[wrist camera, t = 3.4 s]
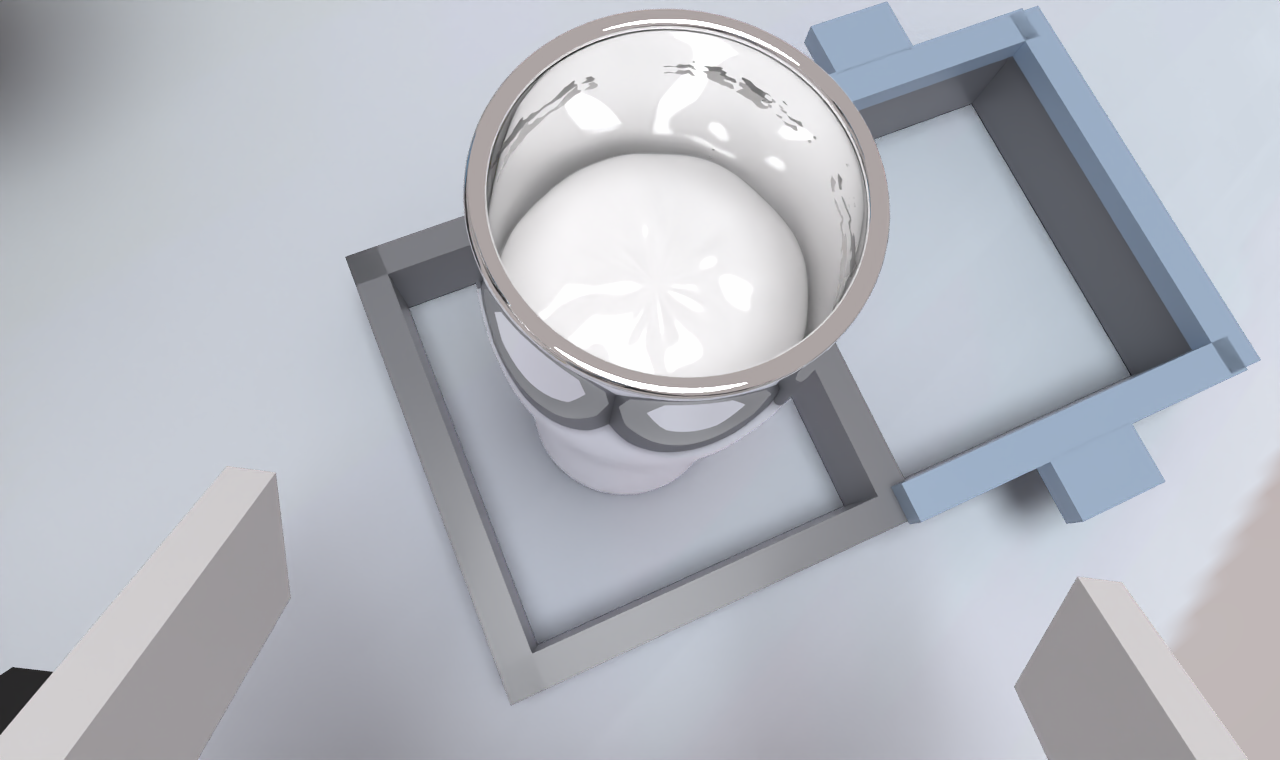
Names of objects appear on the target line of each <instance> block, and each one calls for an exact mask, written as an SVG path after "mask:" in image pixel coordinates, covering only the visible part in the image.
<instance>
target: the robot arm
mask: <svg viewBox="0 0 1280 760" xmlns="http://www.w3.org/2000/svg"><path fill="white" fill-rule="evenodd" d="M290 598H291V597H290V588H289V580H288V571H287V563H286V554H285V546H284V537H283V529H282V520H281V512H280V504H279V495H278V487H277V478H276V472H268V471H261V470H253V469H245V468H237V467H230V466H226V468H225V469H224V470H223V471H222V472H221V473H220V475H219V476H218V477H217V478H216V479H215V481H214V482H213V483H212V484H211V485H210V487H209V488H208V489H207V490H206V491H205V492H204V494H203V495H202V496H201V497H200V498H199V500H198V501H197V502H196V503H195V504H194V506H193V507H192V508H191V509H190V510H189V512H188V513H187V514H186V515H185V516H184V517H183V519H182V520H181V521H180V522H179V523H178V525H177V526H176V527H175V528H174V529H173V531H172V532H171V533H170V534H169V535H168V536H167V538H166V539H165V540H164V541H163V542H162V544H161V545H160V546H159V547H158V548H157V550H156V551H155V552H154V553H153V554H152V555H151V557H150V558H149V559H148V560H147V561H146V563H145V564H144V565H143V566H142V567H141V569H140V570H139V571H138V572H137V573H136V574H135V576H134V577H133V578H132V579H131V580H130V582H129V583H128V584H127V585H126V586H125V588H124V589H123V590H122V591H121V592H120V593H119V595H118V596H117V597H116V598H115V599H114V601H113V602H112V603H111V604H110V605H109V607H108V608H107V609H106V610H105V611H104V612H103V614H102V615H101V616H100V617H99V618H98V620H97V621H96V622H95V623H94V624H93V626H92V627H91V628H90V629H89V630H88V631H87V633H86V634H85V635H84V636H83V637H82V639H81V640H80V641H79V642H78V643H77V645H76V646H75V647H74V648H73V649H72V650H71V652H70V653H69V654H68V655H67V656H66V658H65V659H64V660H63V661H62V662H61V664H60V665H59V666H58V667H57V668H56V669H55V671H54V672H49V671H41V670H32V669H24V668H15V667H12V668H11V669H9V670H8V671H6V672H5V673H3V674H2V675H0V760H198V758H199V756H200V755H201V753H202V751H203V749H204V748H205V746H206V744H207V743H208V741H209V739H210V737H211V736H212V734H213V732H214V730H215V729H216V727H217V725H218V723H219V722H220V720H221V718H222V716H223V715H224V713H225V711H226V709H227V708H228V706H229V704H230V702H231V701H232V699H233V697H234V696H235V694H236V692H237V690H238V689H239V687H240V685H241V683H242V682H243V680H244V678H245V676H246V675H247V673H248V671H249V669H250V668H251V666H252V664H253V662H254V661H255V659H256V657H257V656H258V654H259V652H260V650H261V649H262V647H263V645H264V643H265V642H266V640H267V638H268V636H269V635H270V633H271V631H272V629H273V628H274V626H275V624H276V622H277V621H278V619H279V617H280V615H281V614H282V612H283V610H284V609H285V607H286V605H287V603H288V602H289V600H290ZM1014 688H1015V690H1016V692H1017V694H1018V696H1019V698H1020V701H1021V703H1022V705H1023V707H1024V709H1025V711H1026V713H1027V716H1028V718H1029V720H1030V722H1031V724H1032V726H1033V728H1034V731H1035V733H1036V735H1037V737H1038V739H1039V741H1040V743H1041V745H1042V748H1043V750H1044V752H1045V754H1046V756H1047V758H1048V760H1248V758H1247V757H1246V756H1245V754H1244V753H1243V751H1242V750H1241V748H1240V747H1239V746H1238V744H1237V743H1236V741H1235V740H1234V739H1233V737H1232V736H1231V735H1230V733H1229V732H1228V730H1227V729H1226V727H1225V726H1224V725H1223V723H1222V722H1221V720H1220V719H1219V718H1218V716H1217V715H1216V713H1215V712H1214V711H1213V710H1212V708H1211V706H1210V705H1209V704H1208V702H1207V701H1206V700H1205V698H1204V697H1203V695H1202V694H1201V692H1200V691H1199V690H1198V688H1197V687H1196V686H1195V684H1194V683H1193V681H1192V680H1191V679H1190V677H1189V676H1188V674H1187V673H1186V671H1185V670H1184V669H1183V667H1182V666H1181V664H1180V663H1179V662H1178V660H1177V659H1176V657H1175V656H1174V655H1173V653H1172V652H1171V650H1170V649H1169V647H1168V646H1167V645H1166V643H1165V642H1164V640H1163V639H1162V638H1161V636H1160V635H1159V633H1158V632H1157V631H1156V629H1155V628H1154V626H1153V625H1152V624H1151V622H1150V621H1149V619H1148V618H1147V617H1146V615H1145V614H1144V612H1143V611H1142V610H1141V608H1140V607H1139V605H1138V604H1137V603H1136V601H1135V600H1134V598H1133V597H1132V596H1131V594H1130V593H1129V591H1128V590H1127V589H1126V587H1125V586H1124V584H1123V583H1122V582H1115V581H1108V580H1100V579H1092V578H1084V577H1077V578H1076V580H1075V582H1074V584H1073V585H1072V587H1071V589H1070V591H1069V592H1068V594H1067V596H1066V597H1065V599H1064V601H1063V603H1062V604H1061V606H1060V608H1059V610H1058V611H1057V613H1056V615H1055V617H1054V618H1053V620H1052V622H1051V623H1050V625H1049V627H1048V629H1047V630H1046V632H1045V634H1044V636H1043V637H1042V639H1041V641H1040V643H1039V644H1038V646H1037V648H1036V650H1035V651H1034V653H1033V655H1032V656H1031V658H1030V660H1029V662H1028V663H1027V665H1026V667H1025V669H1024V670H1023V672H1022V674H1021V676H1020V677H1019V679H1018V681H1017V683H1016V684H1015V686H1014Z"/></svg>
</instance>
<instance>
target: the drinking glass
mask: <svg viewBox="0 0 1280 760" xmlns="http://www.w3.org/2000/svg"><path fill="white" fill-rule="evenodd" d="M463 205H464V216H465V223H466V229H467V233H468V238H469V242H470V245H471V249H472V257H473V266H474V273H475V280H476V287H477V293H478V299H479V304H480V308H481V312H482V315H483V319H484V323H485V327H486V331H487V334H488V338H489V341H490V343H491V346H492V349H493V351H494V354H495V356H496V358H497V360H498V362H499V364H500V366H501V368H502V371H503V373H504V375H505V377H506V378H507V380H508V382H509V384H510V386H511V388H512V389H513V391H514V392H515V394H516V395H517V397H518V398H519V400H520V401H521V402H522V404H523V405H524V406H525V407H526V409H527V410H528V411H529V412H530V413H531V414H532V415H533V416H534V418H535V424H536V428H537V431H538V434H539V437H540V440H541V442H542V444H543V446H544V448H545V450H546V451H547V453H548V455H549V456H550V457H551V459H552V460H553V461H554V462H555V464H556V465H557V466H558V467H559V468H560V469H561V470H562V471H563V472H564V473H566V474H567V475H568V476H569V477H571V478H572V479H574V480H575V481H577V482H578V483H580V484H582V485H584V486H586V487H588V488H591V489H593V490H596V491H599V492H603V493H608V494H616V495H632V494H640V493H645V492H649V491H652V490H655V489H658V488H661V487H663V486H665V485H667V484H669V483H671V482H672V481H674V480H676V479H677V478H678V477H680V476H681V475H682V474H683V473H685V472H686V471H687V470H688V469H689V468H690V467H691V466H692V465H693V463H694V462H695V461H696V460H698V459H701V458H704V457H707V456H709V455H712V454H714V453H717V452H719V451H721V450H723V449H725V448H727V447H729V446H730V445H732V444H734V443H735V442H737V441H739V440H740V439H741V438H743V437H744V436H746V435H747V434H749V433H750V432H752V431H753V430H755V429H756V428H758V427H759V426H760V425H762V424H763V423H764V422H766V421H767V420H768V419H769V418H770V417H771V416H773V415H774V414H775V413H776V412H777V411H778V410H779V409H780V408H781V407H782V406H783V405H784V404H785V403H786V402H787V401H788V400H789V399H790V398H791V396H792V395H793V394H794V393H795V392H796V391H797V390H798V389H799V388H800V387H801V386H802V385H803V383H804V382H805V381H806V380H807V379H808V377H809V376H810V375H811V373H812V372H813V371H814V369H815V368H816V367H817V366H818V364H819V363H820V362H821V360H822V359H823V358H824V357H825V355H826V354H827V352H828V351H829V349H830V348H831V347H832V345H833V344H834V343H835V342H836V341H837V340H838V339H839V338H840V337H841V336H842V335H843V334H844V333H845V332H846V330H847V329H848V328H849V327H850V326H851V324H852V323H853V322H854V321H855V319H856V318H857V316H858V315H859V313H860V312H861V311H862V309H863V307H864V306H865V304H866V302H867V301H868V299H869V297H870V295H871V293H872V291H873V289H874V286H875V284H876V282H877V279H878V277H879V274H880V271H881V268H882V265H883V261H884V258H885V254H886V249H887V243H888V237H889V226H890V203H889V192H888V185H887V180H886V175H885V170H884V167H883V163H882V160H881V157H880V154H879V151H878V148H877V146H876V143H875V141H874V139H873V136H872V134H871V132H870V130H869V128H868V126H867V125H866V123H865V121H864V119H863V118H862V116H861V114H860V113H859V111H858V110H857V108H856V107H855V105H854V104H853V102H852V101H851V100H850V98H849V97H848V96H847V94H846V93H845V92H844V91H843V89H842V88H841V87H840V86H839V85H838V84H837V83H836V81H835V80H834V79H833V78H832V77H831V76H830V75H829V74H828V73H827V72H825V71H824V70H823V69H822V68H821V67H820V66H819V65H818V64H816V63H815V62H814V61H813V60H812V59H810V58H809V57H808V56H807V55H805V54H804V53H802V52H801V51H800V50H798V49H797V48H795V47H794V46H792V45H791V44H789V43H787V42H786V41H784V40H782V39H780V38H778V37H777V36H775V35H773V34H771V33H769V32H767V31H765V30H762V29H760V28H758V27H756V26H753V25H751V24H748V23H745V22H742V21H739V20H736V19H733V18H730V17H726V16H722V15H718V14H713V13H708V12H702V11H696V10H686V9H644V10H636V11H629V12H623V13H618V14H614V15H610V16H606V17H602V18H599V19H596V20H593V21H590V22H587V23H585V24H582V25H580V26H577V27H575V28H573V29H571V30H569V31H567V32H565V33H563V34H561V35H559V36H557V37H556V38H554V39H552V40H550V41H549V42H547V43H546V44H544V45H543V46H541V47H540V48H539V49H537V50H536V51H535V52H533V53H532V54H531V55H530V56H528V57H527V58H526V59H525V60H524V61H523V62H521V63H520V64H519V65H518V66H517V67H516V68H515V69H514V70H513V71H512V72H511V74H510V75H509V76H508V77H507V78H506V79H505V80H504V82H503V83H502V84H501V85H500V87H499V88H498V89H497V91H496V92H495V93H494V95H493V96H492V98H491V99H490V101H489V103H488V105H487V106H486V108H485V110H484V112H483V114H482V115H481V118H480V120H479V122H478V124H477V127H476V129H475V132H474V134H473V137H472V140H471V143H470V147H469V151H468V155H467V160H466V166H465V173H464V184H463Z"/></svg>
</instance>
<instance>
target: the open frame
mask: <svg viewBox="0 0 1280 760" xmlns="http://www.w3.org/2000/svg"><path fill="white" fill-rule="evenodd" d="M804 43H805V45H806V47H807V48H808V50H809V52H810V54H811V56H812V58H813V59H814V61H815V63H816V64H818V65H819V66H820V67H821V68H822V69H823V70H824V71H825V72H827V73H828V74H829V75H830V76H831V77H832V78H833V79H834V80H835V81H836V83H837V84H838V85H839V86H840V87H841V88H842V89H843V91H844V92H845V93H846V94H847V96H848V97H849V98H850V100H851V101H852V102H853V104H854V105H855V107H856V108H857V110H858V111H859V113H860V114H861V116H862V118H863V119H864V121H865V123H866V125H867V126H868V128H869V130H870V132H871V134H872V136H873V139H875V138H878V137H881V136H884V135H886V134H889V133H892V132H895V131H897V130H900V129H903V128H906V127H908V126H911V125H914V124H917V123H919V122H922V121H925V120H928V119H930V118H933V117H936V116H939V115H941V114H944V113H947V112H950V111H953V110H955V109H958V108H961V107H964V106H966V105H969V104H972V105H973V106H974V108H975V110H976V111H977V113H978V115H979V116H980V118H981V120H982V122H983V123H984V125H985V127H986V128H987V130H988V132H989V133H990V135H991V137H992V139H993V140H994V142H995V144H996V145H997V147H998V149H999V150H1000V152H1001V154H1002V156H1003V157H1004V159H1005V161H1006V162H1007V164H1008V166H1009V167H1010V169H1011V171H1012V173H1013V174H1014V176H1015V178H1016V179H1017V181H1018V183H1019V184H1020V186H1021V188H1022V190H1023V191H1024V193H1025V195H1026V196H1027V198H1028V200H1029V201H1030V203H1031V205H1032V207H1033V208H1034V210H1035V212H1036V213H1037V215H1038V217H1039V218H1040V220H1041V222H1042V224H1043V225H1044V227H1045V229H1046V230H1047V232H1048V234H1049V235H1050V237H1051V239H1052V241H1053V242H1054V244H1055V246H1056V247H1057V249H1058V251H1059V252H1060V254H1061V256H1062V258H1063V259H1064V261H1065V263H1066V264H1067V266H1068V268H1069V269H1070V271H1071V273H1072V275H1073V276H1074V278H1075V280H1076V281H1077V283H1078V285H1079V286H1080V288H1081V290H1082V292H1083V293H1084V295H1085V297H1086V298H1087V300H1088V302H1089V303H1090V305H1091V307H1092V309H1093V310H1094V312H1095V314H1096V315H1097V317H1098V319H1099V320H1100V322H1101V324H1102V326H1103V327H1104V329H1105V331H1106V332H1107V334H1108V336H1109V337H1110V339H1111V341H1112V343H1113V344H1114V346H1115V348H1116V349H1117V351H1118V353H1119V354H1120V356H1121V358H1122V360H1123V361H1124V363H1125V365H1126V366H1127V368H1128V370H1129V371H1130V373H1131V375H1132V376H1130V377H1128V378H1125V379H1123V380H1121V381H1119V382H1117V383H1114V384H1112V385H1110V386H1108V387H1106V388H1103V389H1101V390H1099V391H1097V392H1094V393H1092V394H1090V395H1088V396H1086V397H1083V398H1081V399H1079V400H1077V401H1075V402H1072V403H1070V404H1068V405H1066V406H1064V407H1061V408H1059V409H1057V410H1055V411H1053V412H1050V413H1048V414H1046V415H1044V416H1042V417H1039V418H1037V419H1035V420H1033V421H1031V422H1028V423H1026V424H1024V425H1022V426H1019V427H1017V428H1015V429H1013V430H1011V431H1008V432H1006V433H1004V434H1002V435H1000V436H997V437H995V438H993V439H991V440H989V441H986V442H984V443H982V444H980V445H978V446H975V447H973V448H971V449H969V450H967V451H964V452H962V453H960V454H958V455H956V456H953V457H951V458H949V459H947V460H945V461H942V462H940V463H938V464H936V465H933V466H931V467H929V468H927V469H925V470H922V471H920V472H918V473H916V474H914V475H911V476H909V477H907V478H905V479H904V477H903V475H902V473H901V471H900V469H899V467H898V465H897V463H896V461H895V459H894V457H893V455H892V453H891V451H890V450H889V448H888V446H887V444H886V442H885V440H884V438H883V436H882V434H881V432H880V430H879V428H878V426H877V424H876V422H875V420H874V418H873V416H872V414H871V412H870V410H869V408H868V406H867V404H866V402H865V400H864V398H863V396H862V394H861V392H860V390H859V388H858V386H857V384H856V382H855V380H854V378H853V376H852V374H851V372H850V370H849V368H848V366H847V364H846V362H845V360H844V359H843V357H842V355H841V353H840V351H839V349H838V347H837V345H836V343H834V344H833V345H832V347H831V348H830V349H829V351H828V352H827V354H826V355H825V357H824V358H823V359H822V360H821V362H820V363H819V364H818V366H817V367H816V368H815V369H814V371H813V372H812V373H811V375H810V376H809V377H808V379H807V380H806V381H805V382H804V383H803V385H802V386H801V387H800V388H799V389H798V390H797V391H796V392H795V393H794V394H793V395H792V396H791V397H792V399H793V401H794V403H795V405H796V407H797V409H798V411H799V413H800V416H801V418H802V420H803V422H804V424H805V426H806V428H807V430H808V432H809V434H810V436H811V438H812V440H813V442H814V444H815V446H816V449H817V451H818V453H819V455H820V457H821V459H822V461H823V463H824V465H825V467H826V469H827V471H828V473H829V475H830V477H831V479H832V482H833V484H834V486H835V488H836V490H837V492H838V494H839V496H840V498H841V500H842V502H843V504H844V506H843V507H841V508H839V509H836V510H834V511H832V512H830V513H828V514H825V515H823V516H821V517H819V518H817V519H814V520H812V521H810V522H808V523H806V524H803V525H801V526H799V527H797V528H795V529H792V530H790V531H788V532H786V533H784V534H781V535H779V536H777V537H775V538H772V539H770V540H768V541H766V542H764V543H761V544H759V545H757V546H755V547H753V548H750V549H748V550H746V551H744V552H742V553H739V554H737V555H735V556H733V557H731V558H728V559H726V560H724V561H722V562H720V563H717V564H715V565H713V566H711V567H709V568H706V569H704V570H702V571H700V572H697V573H695V574H693V575H691V576H689V577H686V578H684V579H682V580H680V581H678V582H675V583H673V584H671V585H669V586H667V587H664V588H662V589H660V590H658V591H656V592H653V593H651V594H649V595H647V596H645V597H642V598H640V599H638V600H636V601H634V602H631V603H629V604H627V605H625V606H622V607H620V608H618V609H616V610H614V611H611V612H609V613H607V614H605V615H603V616H600V617H598V618H596V619H594V620H592V621H589V622H587V623H585V624H583V625H581V626H578V627H576V628H574V629H572V630H570V631H567V632H565V633H563V634H561V635H559V636H556V637H554V638H552V639H550V640H548V641H545V642H543V643H541V644H539V645H537V642H536V639H535V637H534V634H533V632H532V629H531V626H530V624H529V621H528V619H527V616H526V613H525V611H524V608H523V605H522V603H521V600H520V598H519V595H518V592H517V590H516V587H515V585H514V582H513V579H512V577H511V574H510V571H509V569H508V566H507V564H506V561H505V558H504V556H503V553H502V551H501V548H500V545H499V543H498V540H497V537H496V535H495V532H494V530H493V527H492V524H491V522H490V519H489V517H488V514H487V511H486V509H485V506H484V503H483V501H482V498H481V496H480V493H479V490H478V488H477V485H476V483H475V480H474V477H473V475H472V472H471V469H470V467H469V464H468V462H467V459H466V456H465V454H464V451H463V449H462V446H461V443H460V441H459V438H458V435H457V433H456V430H455V428H454V425H453V422H452V420H451V417H450V415H449V412H448V409H447V407H446V404H445V401H444V399H443V396H442V394H441V391H440V388H439V386H438V383H437V381H436V378H435V375H434V373H433V370H432V367H431V365H430V362H429V360H428V357H427V354H426V352H425V349H424V347H423V344H422V341H421V339H420V336H419V333H418V331H417V328H416V326H415V323H414V320H413V318H412V315H411V313H410V310H409V307H412V306H415V305H418V304H420V303H423V302H426V301H429V300H431V299H434V298H437V297H440V296H442V295H445V294H448V293H451V292H453V291H456V290H459V289H462V288H464V287H467V286H470V285H473V284H475V283H476V280H475V273H474V266H473V257H472V249H471V245H470V242H469V238H468V233H467V229H466V223H465V216H462V217H459V218H456V219H453V220H451V221H448V222H445V223H442V224H439V225H436V226H433V227H430V228H427V229H425V230H422V231H419V232H416V233H413V234H410V235H407V236H404V237H401V238H399V239H396V240H393V241H390V242H387V243H384V244H381V245H378V246H375V247H373V248H370V249H367V250H364V251H361V252H358V253H355V254H352V255H349V256H347V257H346V260H347V263H348V266H349V268H350V271H351V274H352V276H353V279H354V282H355V285H356V287H357V290H358V293H359V295H360V298H361V301H362V304H363V306H364V309H365V312H366V314H367V317H368V320H369V323H370V325H371V328H372V331H373V333H374V336H375V339H376V341H377V344H378V347H379V350H380V352H381V355H382V358H383V360H384V363H385V366H386V369H387V371H388V374H389V377H390V379H391V382H392V385H393V388H394V390H395V393H396V396H397V398H398V401H399V404H400V407H401V409H402V412H403V415H404V417H405V420H406V423H407V426H408V428H409V431H410V434H411V436H412V439H413V442H414V444H415V447H416V450H417V453H418V455H419V458H420V461H421V463H422V466H423V469H424V472H425V474H426V477H427V480H428V482H429V485H430V488H431V491H432V493H433V496H434V499H435V501H436V504H437V507H438V510H439V512H440V515H441V518H442V520H443V523H444V526H445V529H446V531H447V534H448V537H449V539H450V542H451V545H452V547H453V550H454V553H455V556H456V558H457V561H458V564H459V566H460V569H461V572H462V575H463V577H464V580H465V583H466V585H467V588H468V591H469V594H470V596H471V599H472V602H473V604H474V607H475V610H476V613H477V615H478V618H479V621H480V623H481V626H482V629H483V632H484V634H485V637H486V640H487V642H488V645H489V648H490V650H491V653H492V656H493V659H494V661H495V664H496V667H497V669H498V672H499V675H500V678H501V680H502V683H503V686H504V688H505V691H506V694H507V697H508V699H509V702H510V705H513V704H515V703H518V702H520V701H522V700H524V699H526V698H528V697H531V696H533V695H535V694H537V693H539V692H541V691H543V690H546V689H548V688H550V687H552V686H554V685H556V684H558V683H561V682H563V681H565V680H567V679H569V678H571V677H574V676H576V675H578V674H580V673H582V672H584V671H586V670H589V669H591V668H593V667H595V666H597V665H599V664H602V663H604V662H606V661H608V660H610V659H612V658H614V657H617V656H619V655H621V654H623V653H625V652H627V651H629V650H632V649H634V648H636V647H638V646H640V645H642V644H645V643H647V642H649V641H651V640H653V639H655V638H657V637H660V636H662V635H664V634H666V633H668V632H670V631H673V630H675V629H677V628H679V627H681V626H683V625H685V624H688V623H690V622H692V621H694V620H696V619H698V618H700V617H703V616H705V615H707V614H709V613H711V612H713V611H716V610H718V609H720V608H722V607H724V606H726V605H728V604H731V603H733V602H735V601H737V600H739V599H741V598H744V597H746V596H748V595H750V594H752V593H754V592H756V591H759V590H761V589H763V588H765V587H767V586H769V585H771V584H774V583H776V582H778V581H780V580H782V579H784V578H787V577H789V576H791V575H793V574H795V573H797V572H799V571H802V570H804V569H806V568H808V567H810V566H812V565H815V564H817V563H819V562H821V561H823V560H825V559H827V558H830V557H832V556H834V555H836V554H838V553H840V552H842V551H845V550H847V549H849V548H851V547H853V546H855V545H858V544H860V543H862V542H864V541H866V540H868V539H870V538H873V537H875V536H877V535H879V534H881V533H883V532H886V531H888V530H890V529H892V528H894V527H896V526H898V525H901V524H903V523H905V522H907V521H908V522H909V524H914V523H920V522H923V521H925V520H927V519H929V518H931V517H933V516H936V515H938V514H940V513H942V512H944V511H946V510H948V509H951V508H953V507H955V506H957V505H959V504H961V503H963V502H966V501H968V500H970V499H972V498H974V497H976V496H978V495H981V494H983V493H985V492H987V491H989V490H991V489H993V488H996V487H998V486H1000V485H1002V484H1004V483H1006V482H1008V481H1011V480H1013V479H1015V478H1017V477H1019V476H1021V475H1023V474H1026V473H1028V472H1030V471H1032V470H1034V469H1036V468H1037V470H1038V472H1039V474H1040V476H1041V478H1042V480H1043V481H1044V483H1045V485H1046V487H1047V489H1048V491H1049V492H1050V494H1051V496H1052V498H1053V500H1054V502H1055V503H1056V505H1057V507H1058V509H1059V511H1060V513H1061V514H1062V516H1063V518H1064V520H1065V522H1066V524H1067V523H1076V522H1084V521H1086V520H1088V519H1090V518H1092V517H1094V516H1096V515H1098V514H1100V513H1102V512H1104V511H1106V510H1108V509H1110V508H1112V507H1114V506H1117V505H1119V504H1121V503H1123V502H1125V501H1127V500H1129V499H1131V498H1133V497H1135V496H1137V495H1139V494H1141V493H1143V492H1145V491H1147V490H1149V489H1151V488H1153V487H1156V486H1158V485H1160V484H1162V483H1164V482H1165V480H1164V478H1163V476H1162V475H1161V473H1160V471H1159V469H1158V468H1157V466H1156V464H1155V463H1154V461H1153V459H1152V457H1151V456H1150V454H1149V452H1148V451H1147V449H1146V447H1145V445H1144V444H1143V442H1142V440H1141V438H1140V437H1139V435H1138V433H1137V432H1136V430H1135V428H1134V426H1133V425H1132V424H1133V423H1135V422H1137V421H1139V420H1141V419H1143V418H1146V417H1148V416H1150V415H1152V414H1154V413H1156V412H1158V411H1161V410H1163V409H1165V408H1167V407H1169V406H1171V405H1173V404H1176V403H1178V402H1180V401H1182V400H1184V399H1186V398H1188V397H1191V396H1193V395H1195V394H1197V393H1199V392H1201V391H1203V390H1206V389H1208V388H1210V387H1212V386H1214V385H1216V384H1218V383H1221V382H1223V381H1225V380H1227V379H1229V378H1231V377H1233V376H1236V375H1238V374H1240V373H1242V372H1244V371H1246V370H1248V369H1247V368H1246V367H1247V366H1249V365H1251V364H1253V363H1256V362H1258V361H1260V360H1261V359H1260V358H1259V356H1258V355H1257V353H1256V351H1255V350H1254V348H1253V347H1252V345H1251V344H1250V342H1249V340H1248V339H1247V337H1246V336H1245V334H1244V332H1243V331H1242V329H1241V328H1240V326H1239V324H1238V323H1237V321H1236V320H1235V318H1234V316H1233V315H1232V313H1231V312H1230V310H1229V309H1228V307H1227V305H1226V304H1225V302H1224V301H1223V299H1222V297H1221V296H1220V294H1219V293H1218V291H1217V289H1216V288H1215V286H1214V285H1213V283H1212V282H1211V280H1210V278H1209V277H1208V275H1207V274H1206V272H1205V270H1204V269H1203V267H1202V266H1201V264H1200V262H1199V261H1198V259H1197V258H1196V256H1195V254H1194V253H1193V251H1192V250H1191V248H1190V247H1189V245H1188V243H1187V242H1186V240H1185V239H1184V237H1183V235H1182V234H1181V232H1180V231H1179V229H1178V227H1177V226H1176V224H1175V223H1174V221H1173V220H1172V218H1171V216H1170V215H1169V213H1168V212H1167V210H1166V208H1165V207H1164V205H1163V204H1162V202H1161V200H1160V199H1159V197H1158V196H1157V194H1156V193H1155V191H1154V189H1153V188H1152V186H1151V185H1150V183H1149V181H1148V180H1147V178H1146V177H1145V175H1144V173H1143V172H1142V170H1141V169H1140V167H1139V165H1138V164H1137V162H1136V161H1135V159H1134V158H1133V156H1132V154H1131V153H1130V151H1129V150H1128V148H1127V146H1126V145H1125V143H1124V142H1123V140H1122V138H1121V137H1120V135H1119V134H1118V132H1117V131H1116V129H1115V127H1114V126H1113V124H1112V123H1111V121H1110V119H1109V118H1108V116H1107V115H1106V113H1105V111H1104V110H1103V108H1102V107H1101V105H1100V103H1099V102H1098V100H1097V99H1096V97H1095V96H1094V94H1093V92H1092V91H1091V89H1090V88H1089V86H1088V84H1087V83H1086V81H1085V80H1084V78H1083V76H1082V75H1081V73H1080V72H1079V70H1078V69H1077V67H1076V65H1075V64H1074V62H1073V61H1072V59H1071V57H1070V56H1069V54H1068V53H1067V51H1066V49H1065V48H1064V46H1063V45H1062V43H1061V42H1060V40H1059V38H1058V37H1057V35H1056V34H1055V32H1054V30H1053V29H1052V27H1051V26H1050V24H1049V22H1048V21H1047V19H1046V18H1045V16H1044V14H1043V13H1042V11H1041V10H1040V8H1039V7H1038V6H1036V7H1033V8H1030V9H1027V10H1023V8H1022V9H1019V10H1016V11H1013V12H1010V13H1007V14H1004V15H1001V16H998V17H995V18H993V19H990V20H987V21H984V22H981V23H978V24H975V25H972V26H969V27H966V28H963V29H960V30H957V31H955V32H952V33H949V34H946V35H943V36H940V37H937V38H934V39H931V40H928V41H925V42H922V43H919V44H917V45H914V46H913V45H912V44H911V42H910V40H909V38H908V37H907V35H906V33H905V32H904V30H903V28H902V26H901V25H900V23H899V21H898V19H897V18H896V16H895V14H894V13H893V11H892V9H891V7H890V6H889V4H888V2H884V3H881V4H878V5H875V6H872V7H869V8H866V9H862V10H859V11H856V12H853V13H850V14H847V15H844V16H841V17H838V18H835V19H832V20H829V21H826V22H823V23H820V24H817V25H814V26H811V28H810V30H809V32H808V35H807V37H806V39H805V42H804Z"/></svg>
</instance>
